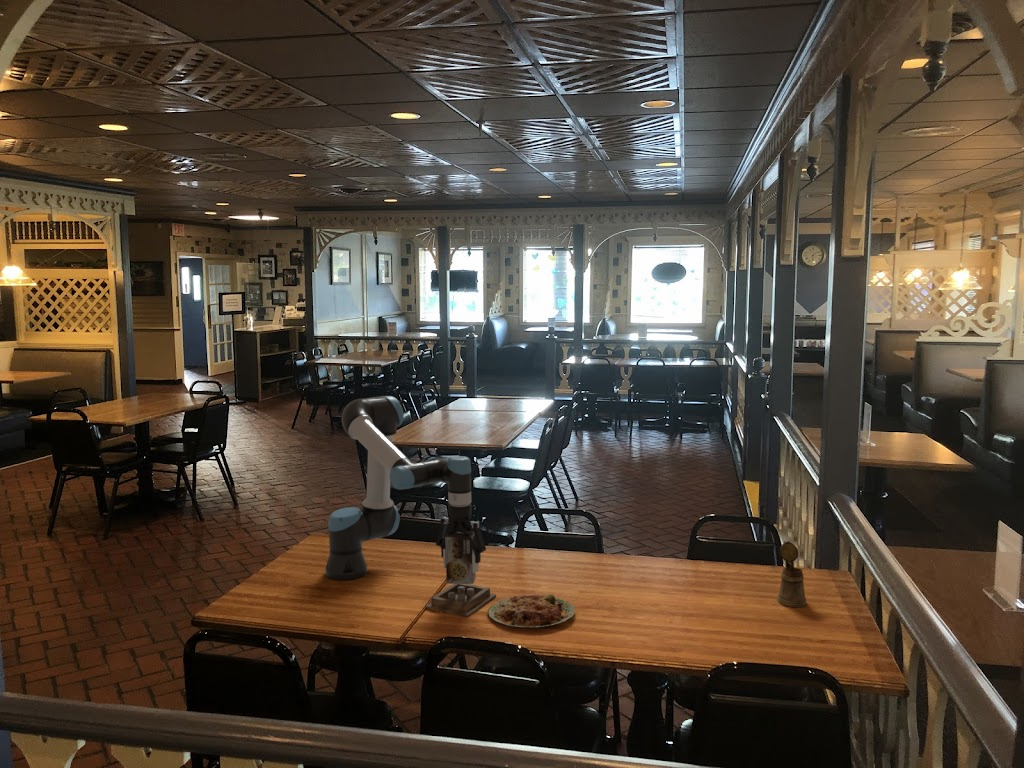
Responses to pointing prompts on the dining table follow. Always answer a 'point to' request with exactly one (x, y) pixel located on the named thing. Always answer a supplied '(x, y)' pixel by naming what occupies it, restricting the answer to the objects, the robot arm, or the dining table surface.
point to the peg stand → (461, 599)
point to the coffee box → (459, 558)
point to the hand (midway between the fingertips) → (460, 569)
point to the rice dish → (531, 611)
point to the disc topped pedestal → (791, 578)
